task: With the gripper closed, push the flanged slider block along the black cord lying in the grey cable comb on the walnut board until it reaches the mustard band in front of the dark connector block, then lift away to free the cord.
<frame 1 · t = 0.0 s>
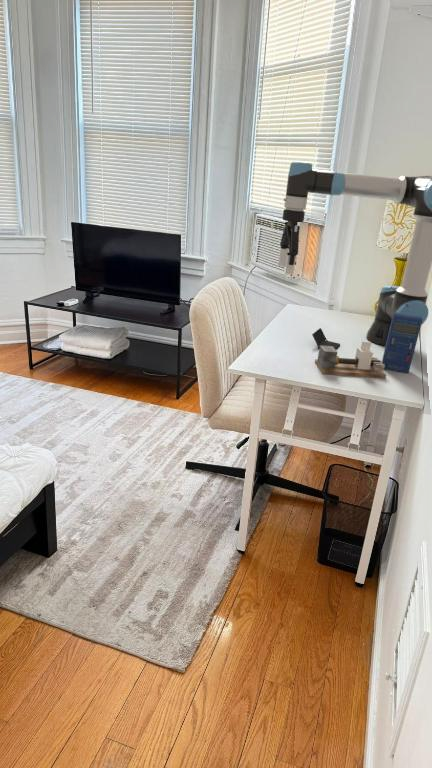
hand: (285, 270, 192), 28 cm above the table, fingers open, 13 cm apart
electronic device: (394, 369, 188), on the table
comb board: (349, 370, 183), on the table
handheld gaming console: (324, 347, 206), on the table
flanged slider block: (364, 354, 181), point 6 cm above the table, slide at 0.0 cm
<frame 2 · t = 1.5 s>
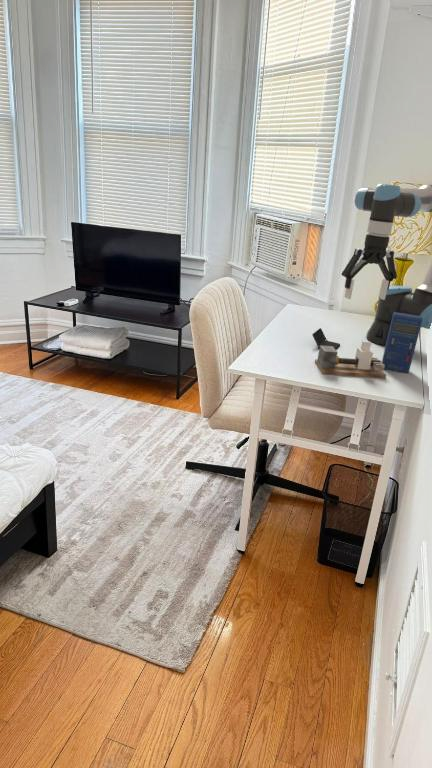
hand: (364, 298, 180), 24 cm above the table, fingers open, 13 cm apart
nothing on the table moved.
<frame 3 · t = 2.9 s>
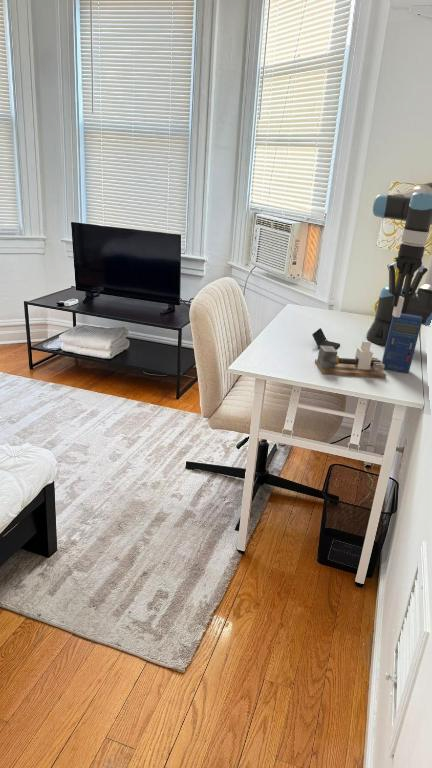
hand: (395, 316, 176), 20 cm above the table, fingers closed
nothing on the table moved.
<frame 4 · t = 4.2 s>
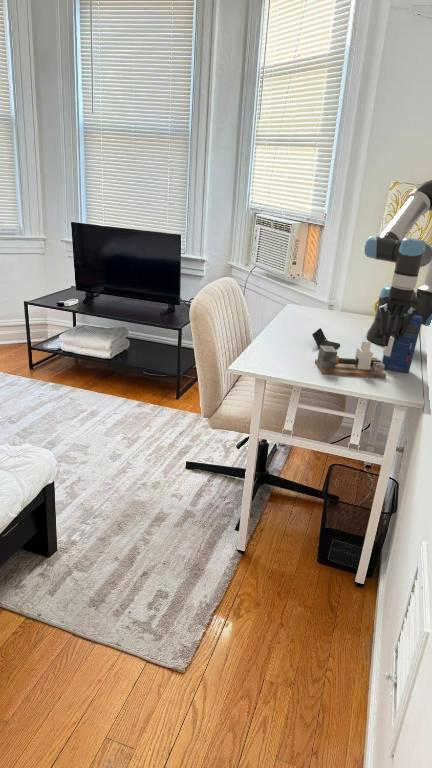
hand: (386, 354, 181), 7 cm above the table, fingers closed
nothing on the table moved.
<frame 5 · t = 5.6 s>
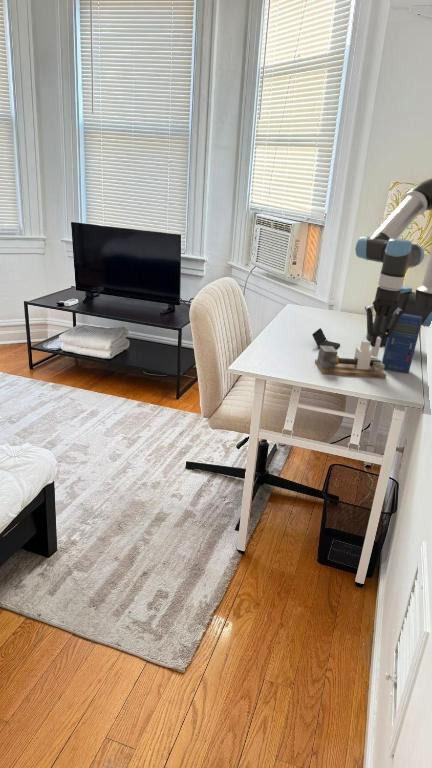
hand: (373, 355, 181), 6 cm above the table, fingers closed
flanged slider block: (363, 354, 181), point 6 cm above the table, slide at 0.3 cm, touching gripper
everything else where it was.
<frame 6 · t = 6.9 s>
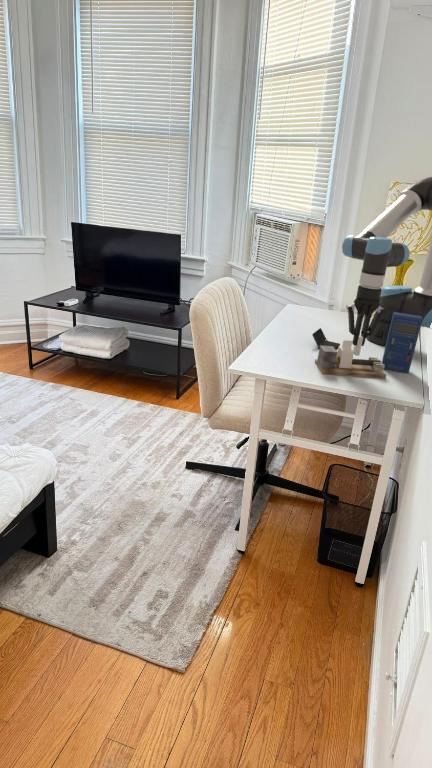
hand: (356, 354, 181), 6 cm above the table, fingers closed
flanged slider block: (345, 353, 180), point 6 cm above the table, slide at 6.6 cm, touching gripper
everything else where it was.
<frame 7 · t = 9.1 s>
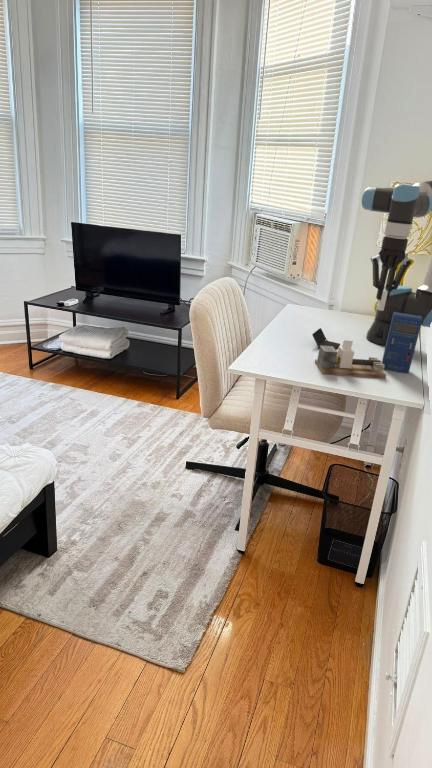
hand: (379, 309, 175), 22 cm above the table, fingers closed
flanged slider block: (345, 353, 180), point 6 cm above the table, slide at 6.5 cm
everything else where it was.
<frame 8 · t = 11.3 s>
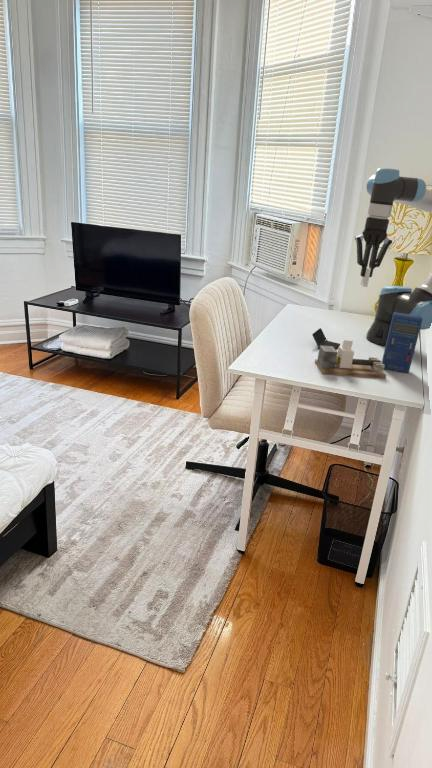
hand: (363, 285, 188), 26 cm above the table, fingers closed
nothing on the table moved.
at the end: flanged slider block slide at 6.5 cm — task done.
